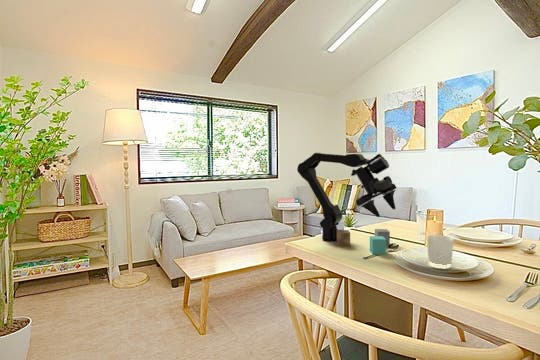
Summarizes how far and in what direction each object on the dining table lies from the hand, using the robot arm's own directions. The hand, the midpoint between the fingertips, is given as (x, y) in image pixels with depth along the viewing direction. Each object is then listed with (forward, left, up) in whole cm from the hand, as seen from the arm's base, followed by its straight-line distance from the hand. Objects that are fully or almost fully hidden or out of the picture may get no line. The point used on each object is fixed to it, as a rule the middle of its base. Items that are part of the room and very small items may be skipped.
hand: (386, 212), depth 128 cm
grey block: (0, +7, -15) cm, 17 cm away
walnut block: (-17, +4, -15) cm, 23 cm away
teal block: (-5, -6, -15) cm, 17 cm away
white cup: (+12, -21, -15) cm, 28 cm away
